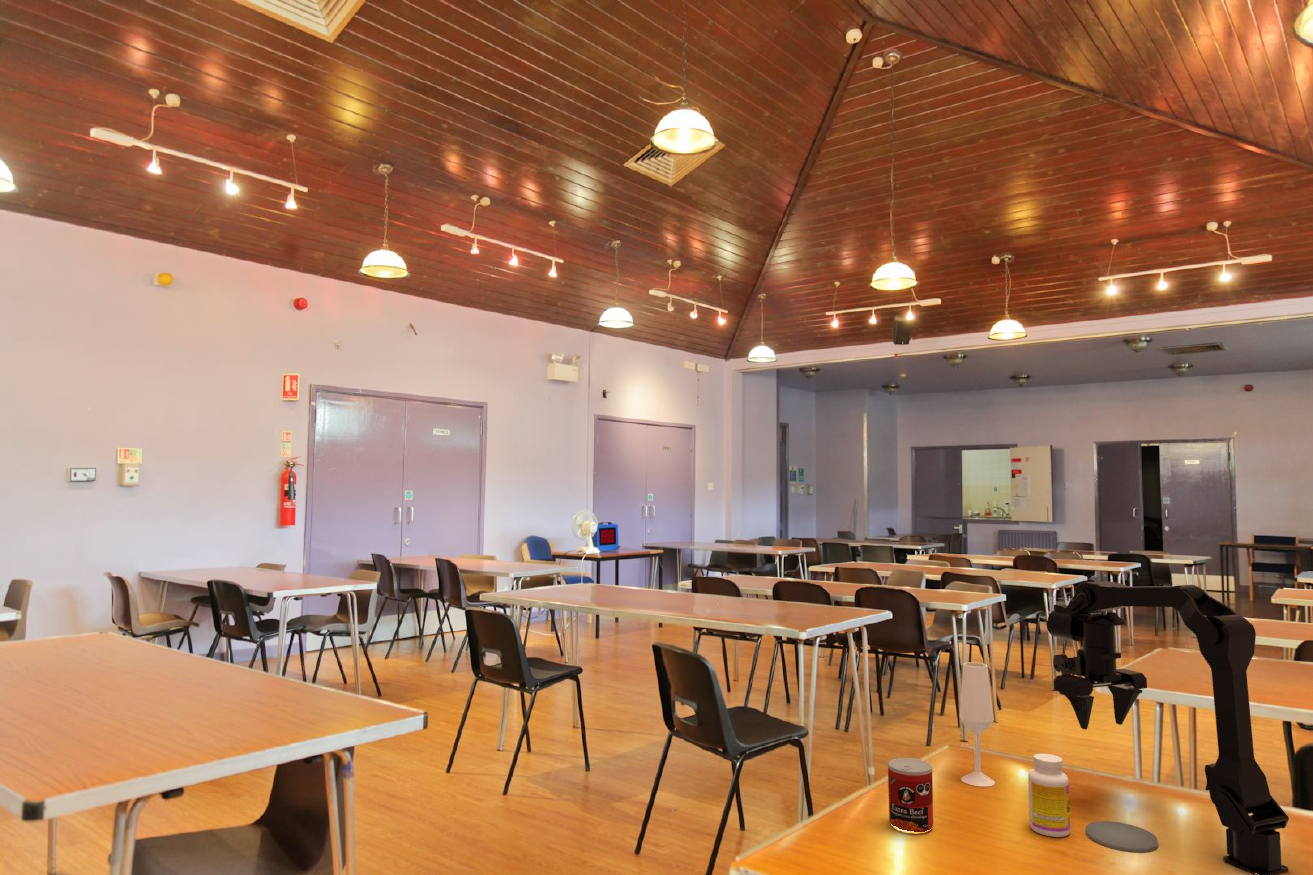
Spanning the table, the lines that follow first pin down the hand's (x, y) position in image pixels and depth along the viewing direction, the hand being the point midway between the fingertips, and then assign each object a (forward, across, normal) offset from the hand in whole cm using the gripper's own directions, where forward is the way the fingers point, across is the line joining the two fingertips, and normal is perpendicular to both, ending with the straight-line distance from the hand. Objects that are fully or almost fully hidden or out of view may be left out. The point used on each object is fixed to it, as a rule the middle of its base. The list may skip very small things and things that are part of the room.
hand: (1101, 726), depth 161 cm
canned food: (+15, +42, -5) cm, 45 cm away
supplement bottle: (+15, +20, +6) cm, 26 cm away
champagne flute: (+15, +14, -19) cm, 28 cm away
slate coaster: (+15, +11, +13) cm, 22 cm away
